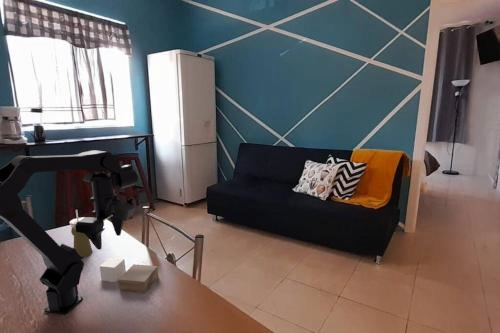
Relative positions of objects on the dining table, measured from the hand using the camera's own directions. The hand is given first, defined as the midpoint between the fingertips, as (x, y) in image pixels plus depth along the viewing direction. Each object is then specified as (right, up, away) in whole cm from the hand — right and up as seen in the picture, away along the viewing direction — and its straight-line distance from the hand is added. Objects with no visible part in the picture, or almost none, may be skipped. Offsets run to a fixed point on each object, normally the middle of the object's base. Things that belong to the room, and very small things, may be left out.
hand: (109, 242), depth 87 cm
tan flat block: (+10, -13, -1) cm, 16 cm away
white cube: (0, -12, +2) cm, 12 cm away
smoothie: (-23, -7, +24) cm, 34 cm away
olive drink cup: (-18, -9, +16) cm, 26 cm away
